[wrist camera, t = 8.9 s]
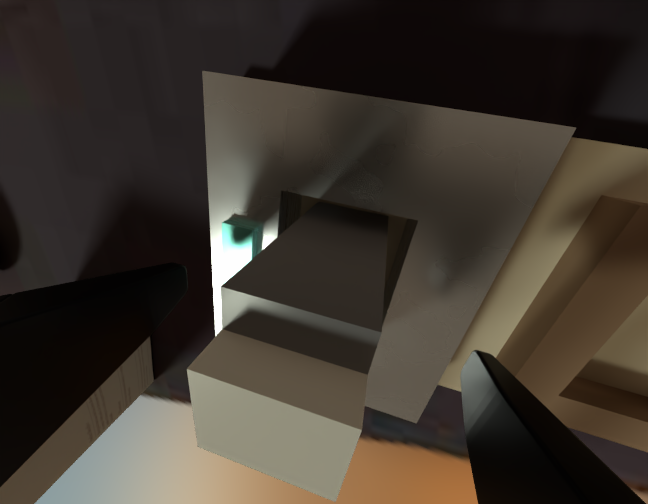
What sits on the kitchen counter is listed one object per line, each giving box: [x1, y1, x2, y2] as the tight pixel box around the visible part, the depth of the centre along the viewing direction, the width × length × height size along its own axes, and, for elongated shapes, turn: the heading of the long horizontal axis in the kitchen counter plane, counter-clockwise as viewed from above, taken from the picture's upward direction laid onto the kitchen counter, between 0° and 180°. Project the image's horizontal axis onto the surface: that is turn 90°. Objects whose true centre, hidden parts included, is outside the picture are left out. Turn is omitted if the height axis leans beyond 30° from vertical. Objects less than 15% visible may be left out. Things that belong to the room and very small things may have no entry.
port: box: [202, 71, 576, 423], centre depth 10 cm, size 10×12×3 cm
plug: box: [187, 202, 389, 502], centre depth 8 cm, size 3×4×8 cm, turn 171°
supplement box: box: [0, 337, 154, 504], centre depth 15 cm, size 7×7×13 cm
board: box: [300, 137, 648, 397], centre depth 11 cm, size 24×12×1 cm, turn 81°
